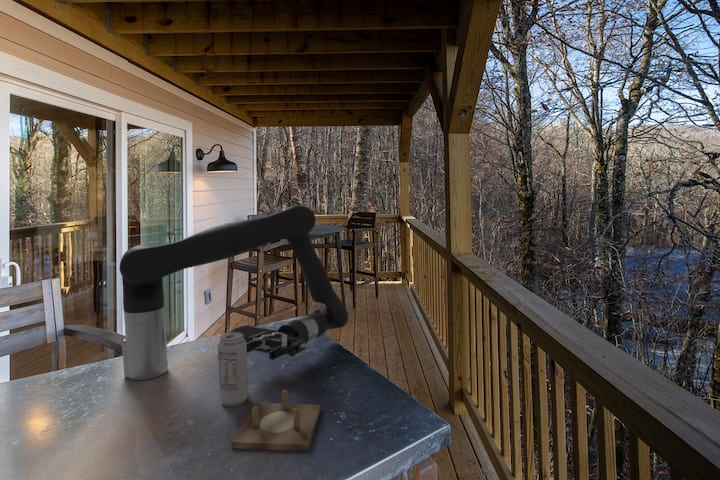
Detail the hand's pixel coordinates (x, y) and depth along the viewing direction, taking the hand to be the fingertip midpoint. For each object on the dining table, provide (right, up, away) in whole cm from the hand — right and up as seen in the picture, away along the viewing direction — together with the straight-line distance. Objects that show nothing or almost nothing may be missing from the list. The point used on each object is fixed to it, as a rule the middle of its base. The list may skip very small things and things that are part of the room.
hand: (256, 352), depth 96 cm
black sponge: (-9, -6, +31) cm, 33 cm away
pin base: (+9, -10, -17) cm, 21 cm away
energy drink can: (-3, -9, -6) cm, 11 cm away
